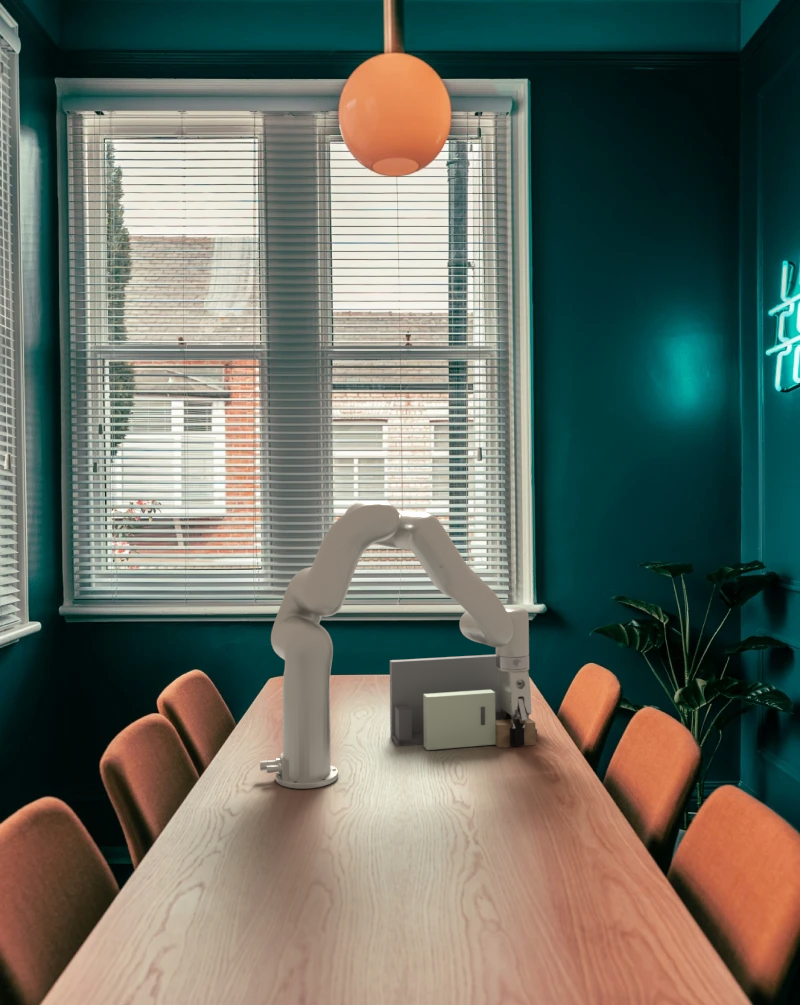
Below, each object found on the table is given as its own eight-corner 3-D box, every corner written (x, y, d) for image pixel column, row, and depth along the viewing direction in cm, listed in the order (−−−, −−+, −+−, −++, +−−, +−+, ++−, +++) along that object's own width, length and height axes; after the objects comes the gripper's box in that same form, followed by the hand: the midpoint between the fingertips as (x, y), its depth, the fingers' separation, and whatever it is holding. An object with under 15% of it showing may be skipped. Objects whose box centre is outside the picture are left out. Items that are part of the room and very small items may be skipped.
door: (427, 750, 170) (427, 697, 170) (423, 745, 173) (423, 693, 173) (496, 744, 174) (495, 693, 174) (491, 740, 177) (490, 689, 177)
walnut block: (498, 747, 173) (497, 725, 173) (492, 742, 177) (491, 720, 177) (535, 744, 175) (535, 722, 175) (528, 739, 179) (528, 717, 179)
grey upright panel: (397, 745, 175) (396, 666, 175) (390, 736, 181) (389, 660, 181) (537, 734, 182) (536, 658, 182) (525, 726, 189) (525, 652, 189)
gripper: (542, 668, 168) (543, 752, 168) (514, 654, 185) (515, 730, 185) (510, 671, 167) (511, 755, 167) (484, 656, 183) (485, 733, 183)
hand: (513, 741), depth 176 cm, fingers closed on walnut block, 4 cm apart
